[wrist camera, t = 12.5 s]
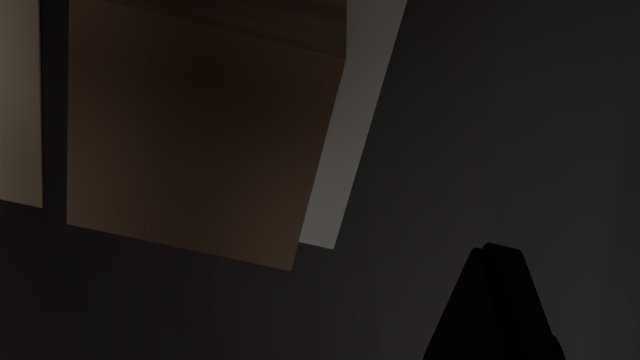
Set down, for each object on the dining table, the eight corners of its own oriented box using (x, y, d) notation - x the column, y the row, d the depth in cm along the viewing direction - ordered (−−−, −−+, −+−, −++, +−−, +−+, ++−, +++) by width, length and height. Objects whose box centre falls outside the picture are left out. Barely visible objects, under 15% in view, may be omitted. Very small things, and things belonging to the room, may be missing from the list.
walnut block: (346, -4, 18) (346, 58, 12) (307, 155, 21) (291, 271, 15) (164, -50, 18) (69, -9, 12) (149, 119, 21) (66, 223, 15)
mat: (443, -126, 17) (444, -126, 17) (333, 247, 23) (333, 249, 23) (106, -215, 16) (105, -216, 16) (92, 196, 23) (91, 197, 23)
